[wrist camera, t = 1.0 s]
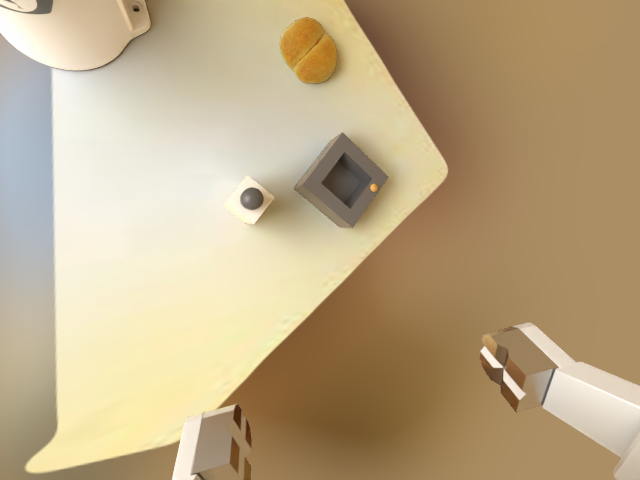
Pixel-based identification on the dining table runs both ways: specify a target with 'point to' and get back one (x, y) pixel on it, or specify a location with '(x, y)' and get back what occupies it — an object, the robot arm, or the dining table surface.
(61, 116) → the dining table surface
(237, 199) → the plug
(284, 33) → the bread roll
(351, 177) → the socket block
